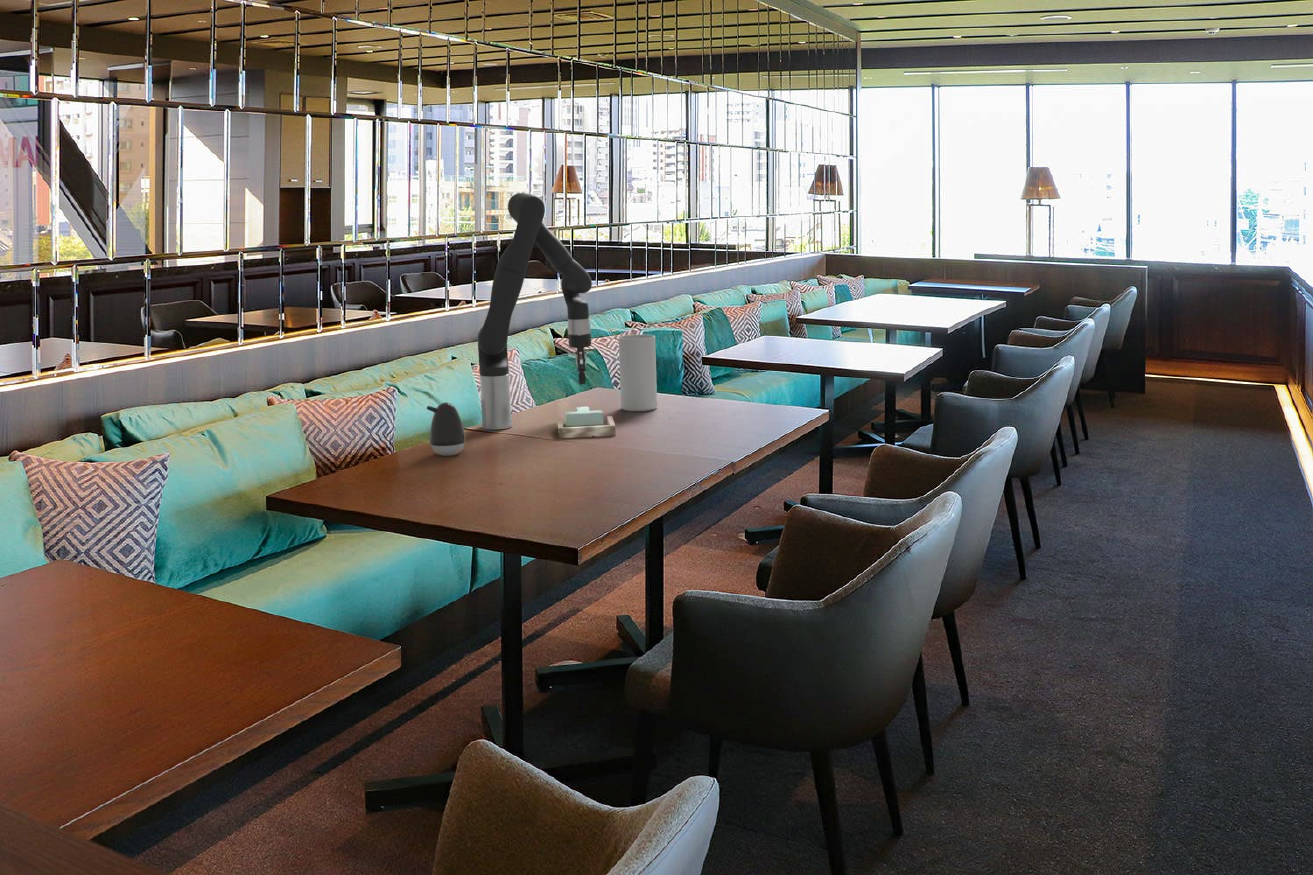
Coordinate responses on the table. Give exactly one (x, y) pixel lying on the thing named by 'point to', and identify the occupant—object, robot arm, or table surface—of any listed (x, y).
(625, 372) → the cylinder vase
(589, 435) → the shallow wooden tray
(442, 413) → the pump dispenser
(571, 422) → the t block
